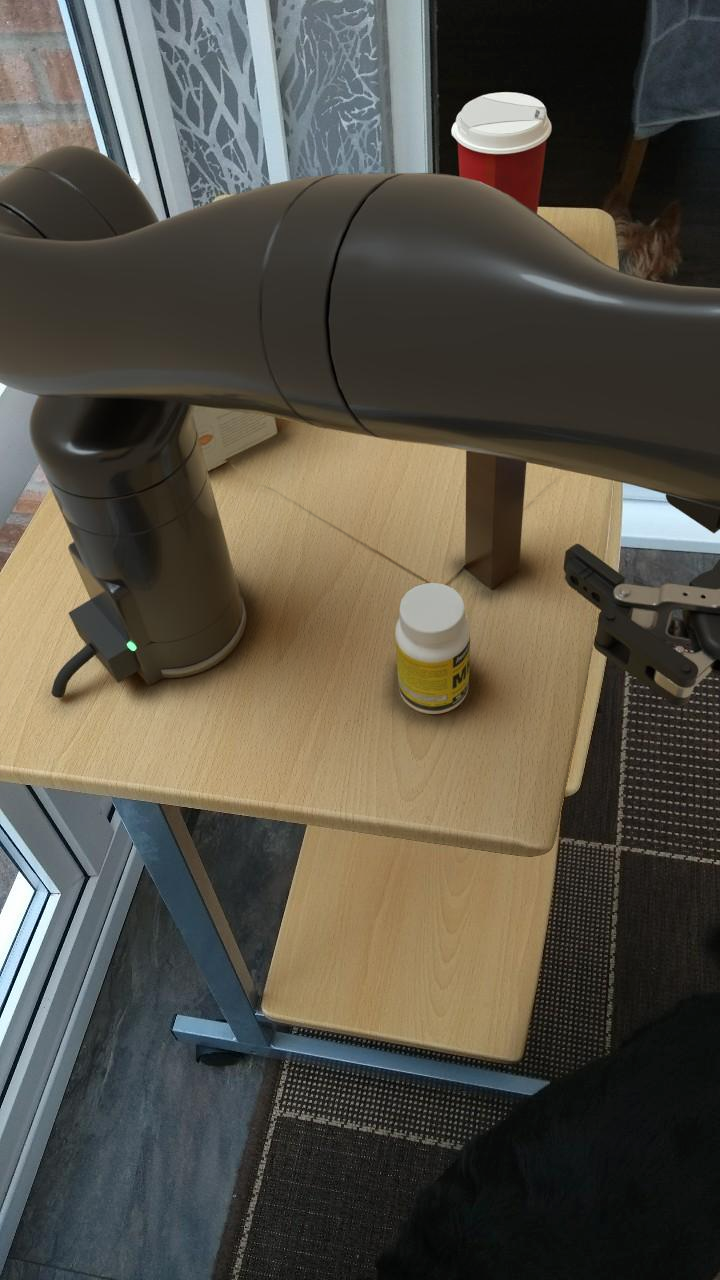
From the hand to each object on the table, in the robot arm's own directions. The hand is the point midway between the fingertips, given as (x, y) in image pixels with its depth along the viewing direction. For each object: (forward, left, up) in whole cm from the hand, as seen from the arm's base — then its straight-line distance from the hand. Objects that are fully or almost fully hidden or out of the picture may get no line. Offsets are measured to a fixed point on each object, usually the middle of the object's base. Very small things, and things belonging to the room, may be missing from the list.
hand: (621, 519), depth 59 cm
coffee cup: (+26, +37, -13) cm, 47 cm away
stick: (0, +10, -13) cm, 17 cm away
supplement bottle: (-10, +5, -13) cm, 17 cm away
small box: (-7, +36, -13) cm, 39 cm away
